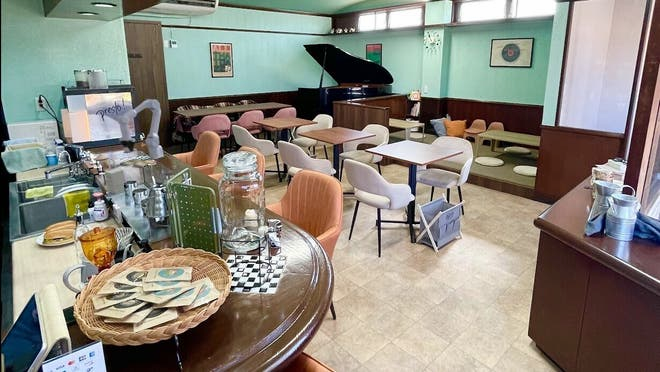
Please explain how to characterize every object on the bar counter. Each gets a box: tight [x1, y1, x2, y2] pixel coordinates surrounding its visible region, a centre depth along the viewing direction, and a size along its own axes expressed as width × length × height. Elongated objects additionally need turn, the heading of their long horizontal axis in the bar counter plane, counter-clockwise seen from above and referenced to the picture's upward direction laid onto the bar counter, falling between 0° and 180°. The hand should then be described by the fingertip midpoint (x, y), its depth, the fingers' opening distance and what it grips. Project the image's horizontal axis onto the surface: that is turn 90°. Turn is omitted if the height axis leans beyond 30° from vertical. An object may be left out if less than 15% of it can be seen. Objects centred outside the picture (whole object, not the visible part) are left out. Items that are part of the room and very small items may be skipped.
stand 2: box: [132, 159, 158, 168], centre depth 290 cm, size 12×10×2 cm
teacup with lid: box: [93, 153, 116, 170], centre depth 279 cm, size 12×9×12 cm
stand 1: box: [119, 158, 144, 167], centre depth 296 cm, size 12×10×2 cm
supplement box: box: [104, 168, 127, 195], centre depth 230 cm, size 7×7×13 cm
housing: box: [122, 144, 136, 154], centre depth 292 cm, size 7×4×5 cm, turn 154°
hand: (129, 150), depth 293 cm, fingers closed on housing, 4 cm apart
